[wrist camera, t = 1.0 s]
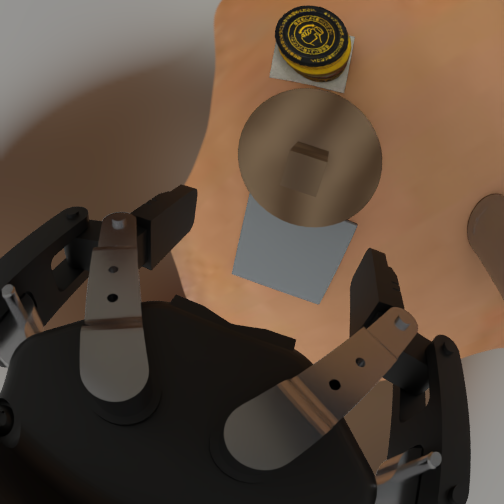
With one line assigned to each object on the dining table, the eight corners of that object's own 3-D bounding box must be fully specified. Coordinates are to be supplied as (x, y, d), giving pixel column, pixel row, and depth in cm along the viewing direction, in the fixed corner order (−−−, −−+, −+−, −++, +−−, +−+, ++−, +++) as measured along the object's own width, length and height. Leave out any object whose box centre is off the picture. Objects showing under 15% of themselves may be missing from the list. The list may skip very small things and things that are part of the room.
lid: (398, 119, 20) (416, 124, 15) (351, 240, 28) (352, 272, 23) (257, 74, 22) (236, 67, 17) (230, 198, 30) (207, 222, 25)
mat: (357, 223, 32) (357, 225, 32) (319, 302, 40) (318, 304, 40) (252, 187, 34) (250, 189, 33) (233, 271, 42) (231, 273, 41)
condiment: (343, 93, 25) (350, 87, 15) (269, 77, 26) (233, 65, 16) (354, 37, 21) (365, 2, 11) (279, 23, 22) (248, -15, 12)
